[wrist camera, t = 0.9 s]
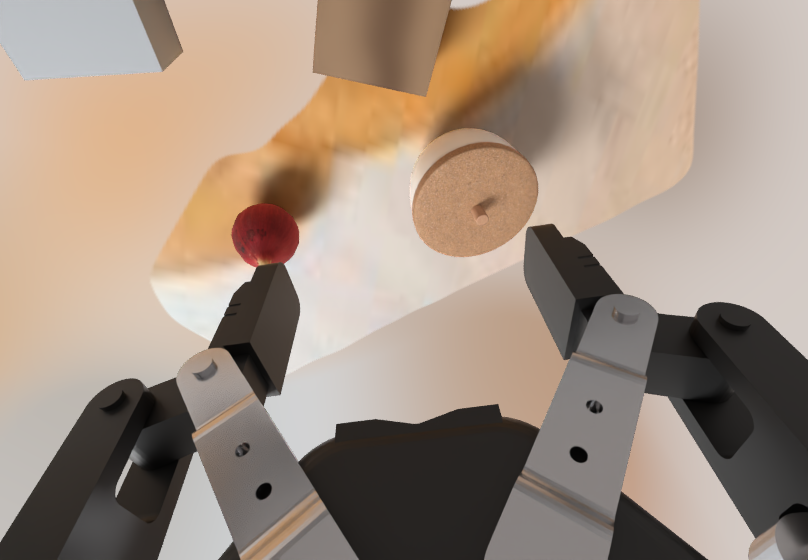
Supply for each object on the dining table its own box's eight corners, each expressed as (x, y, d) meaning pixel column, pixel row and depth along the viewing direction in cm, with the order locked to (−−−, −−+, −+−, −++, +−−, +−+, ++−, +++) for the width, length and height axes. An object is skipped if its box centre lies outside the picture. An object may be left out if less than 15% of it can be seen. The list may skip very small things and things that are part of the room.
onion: (231, 225, 38) (216, 280, 32) (248, 178, 35) (234, 229, 29) (288, 243, 40) (283, 297, 35) (309, 201, 37) (307, 253, 32)
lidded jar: (507, 96, 33) (553, 140, 27) (506, 198, 41) (542, 253, 34) (389, 126, 33) (406, 178, 27) (410, 222, 41) (427, 281, 34)
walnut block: (313, 53, 29) (312, 72, 25) (324, -90, 24) (325, -91, 20) (413, 76, 31) (425, 96, 27) (443, -50, 26) (463, -45, 22)
